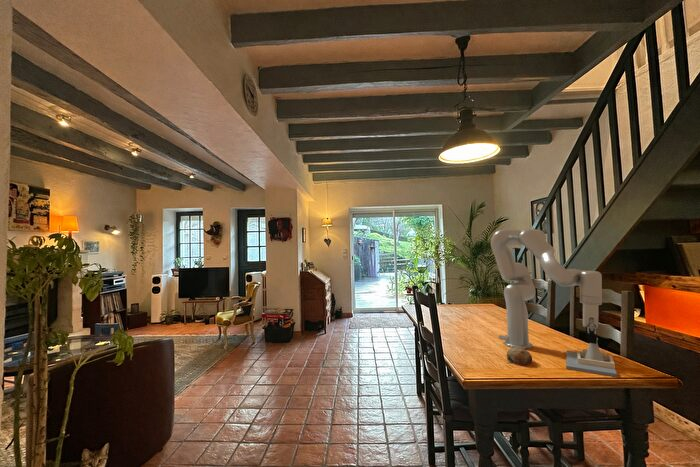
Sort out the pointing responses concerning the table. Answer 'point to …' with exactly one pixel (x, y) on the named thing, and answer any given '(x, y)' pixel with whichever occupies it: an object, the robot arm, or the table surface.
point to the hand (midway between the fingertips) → (591, 340)
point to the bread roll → (519, 356)
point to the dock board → (590, 363)
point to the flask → (594, 352)
